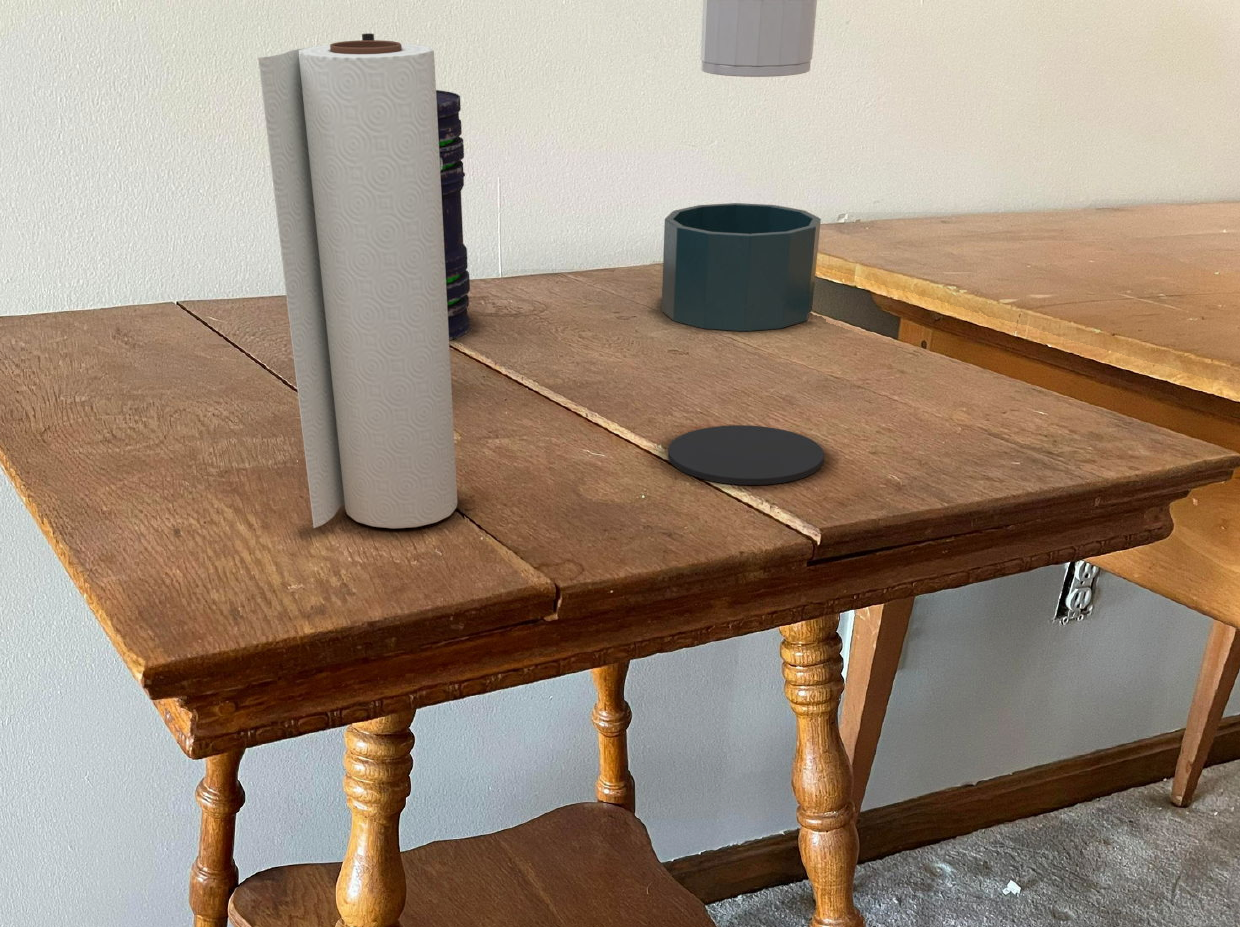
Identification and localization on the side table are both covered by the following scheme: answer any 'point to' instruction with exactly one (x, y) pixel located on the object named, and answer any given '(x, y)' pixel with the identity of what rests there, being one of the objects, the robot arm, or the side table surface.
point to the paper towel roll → (365, 276)
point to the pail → (739, 266)
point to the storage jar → (453, 212)
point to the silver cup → (757, 37)
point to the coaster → (745, 455)
